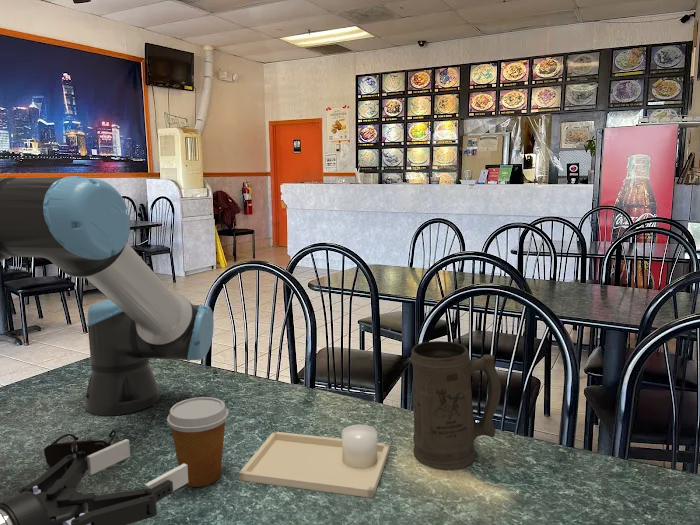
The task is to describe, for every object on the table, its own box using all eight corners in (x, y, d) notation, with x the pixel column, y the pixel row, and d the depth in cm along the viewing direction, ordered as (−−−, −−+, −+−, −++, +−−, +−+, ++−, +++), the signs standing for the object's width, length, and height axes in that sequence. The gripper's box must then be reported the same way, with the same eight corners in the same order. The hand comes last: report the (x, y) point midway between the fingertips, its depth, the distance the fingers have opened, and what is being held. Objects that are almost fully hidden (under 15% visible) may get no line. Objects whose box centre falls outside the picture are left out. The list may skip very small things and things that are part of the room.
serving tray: (273, 440, 102) (273, 431, 102) (389, 453, 97) (389, 444, 97) (239, 483, 88) (238, 472, 88) (373, 501, 83) (373, 490, 83)
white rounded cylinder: (346, 449, 98) (346, 422, 97) (379, 453, 96) (380, 426, 96) (338, 466, 92) (338, 438, 91) (373, 470, 91) (373, 442, 90)
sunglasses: (41, 474, 91) (39, 444, 91) (64, 449, 103) (63, 423, 103) (108, 467, 93) (107, 438, 93) (123, 444, 105) (122, 418, 105)
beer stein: (419, 476, 90) (420, 359, 87) (402, 445, 100) (403, 340, 97) (507, 468, 92) (512, 354, 89) (482, 439, 103) (485, 336, 100)
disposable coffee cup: (215, 495, 85) (212, 422, 83) (159, 489, 87) (154, 417, 85) (239, 464, 94) (237, 398, 92) (188, 459, 96) (185, 394, 94)
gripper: (-40, 528, 72) (108, 459, 89) (63, 609, 58) (214, 510, 76) (-46, 475, 71) (105, 416, 88) (57, 545, 57) (212, 459, 75)
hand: (156, 459), depth 82 cm, fingers open, 13 cm apart
